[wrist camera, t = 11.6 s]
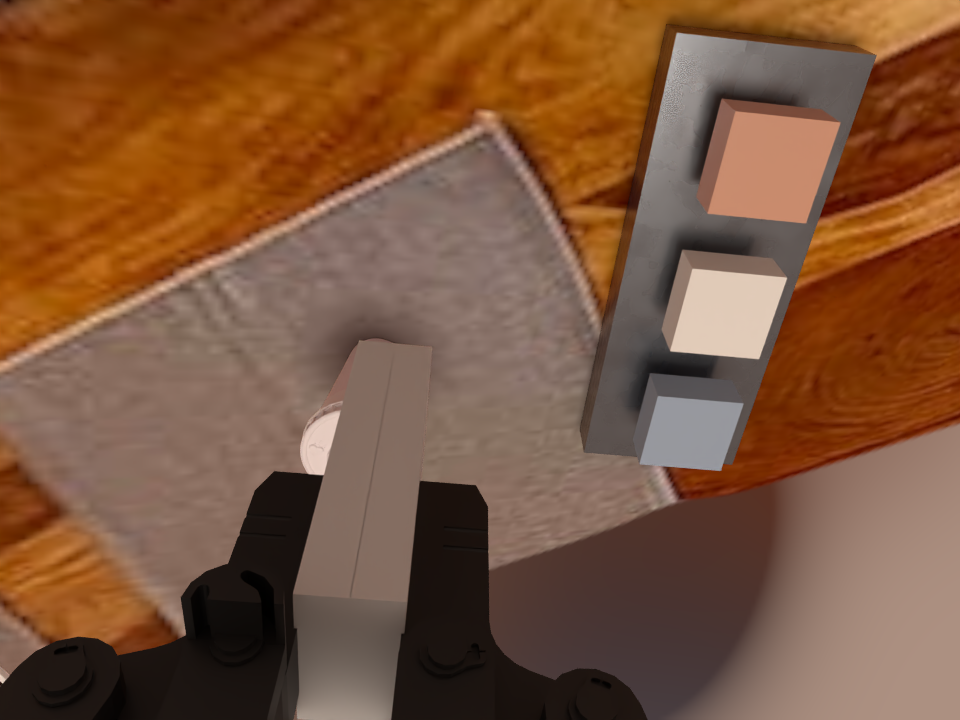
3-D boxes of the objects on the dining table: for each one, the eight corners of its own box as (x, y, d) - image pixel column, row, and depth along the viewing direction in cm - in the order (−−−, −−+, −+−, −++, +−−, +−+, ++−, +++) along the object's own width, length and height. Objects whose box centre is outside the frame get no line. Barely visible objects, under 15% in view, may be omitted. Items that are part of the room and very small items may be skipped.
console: (666, 24, 40) (676, 32, 38) (855, 45, 40) (876, 55, 38) (579, 429, 53) (584, 452, 51) (722, 441, 54) (731, 464, 52)
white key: (672, 230, 44) (692, 268, 40) (758, 239, 45) (787, 277, 40) (653, 308, 47) (670, 351, 43) (733, 315, 47) (759, 359, 43)
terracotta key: (708, 86, 40) (735, 111, 36) (802, 96, 40) (840, 122, 36) (684, 180, 43) (707, 213, 38) (773, 189, 43) (805, 223, 39)
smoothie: (307, 357, 50) (254, 505, 39) (379, 300, 48) (346, 440, 36) (376, 418, 53) (346, 575, 41) (447, 367, 51) (437, 518, 39)
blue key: (642, 350, 48) (657, 396, 44) (720, 357, 49) (743, 403, 44) (626, 415, 51) (639, 464, 47) (700, 421, 51) (720, 470, 47)
